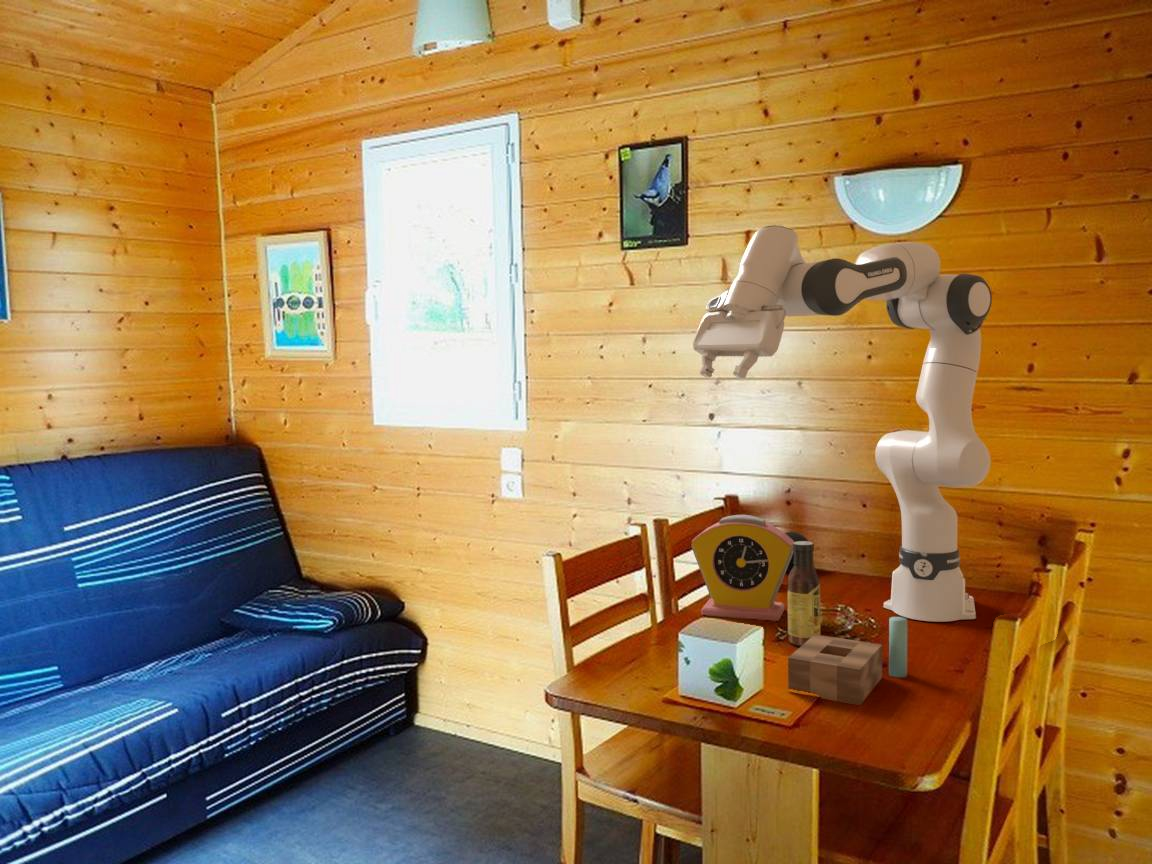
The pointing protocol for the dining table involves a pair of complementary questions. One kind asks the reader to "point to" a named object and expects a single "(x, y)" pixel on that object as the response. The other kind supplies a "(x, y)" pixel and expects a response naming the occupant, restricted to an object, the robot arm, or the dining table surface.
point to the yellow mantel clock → (743, 567)
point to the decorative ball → (795, 538)
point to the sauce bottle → (803, 595)
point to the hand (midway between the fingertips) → (721, 376)
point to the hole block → (836, 668)
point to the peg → (898, 647)
